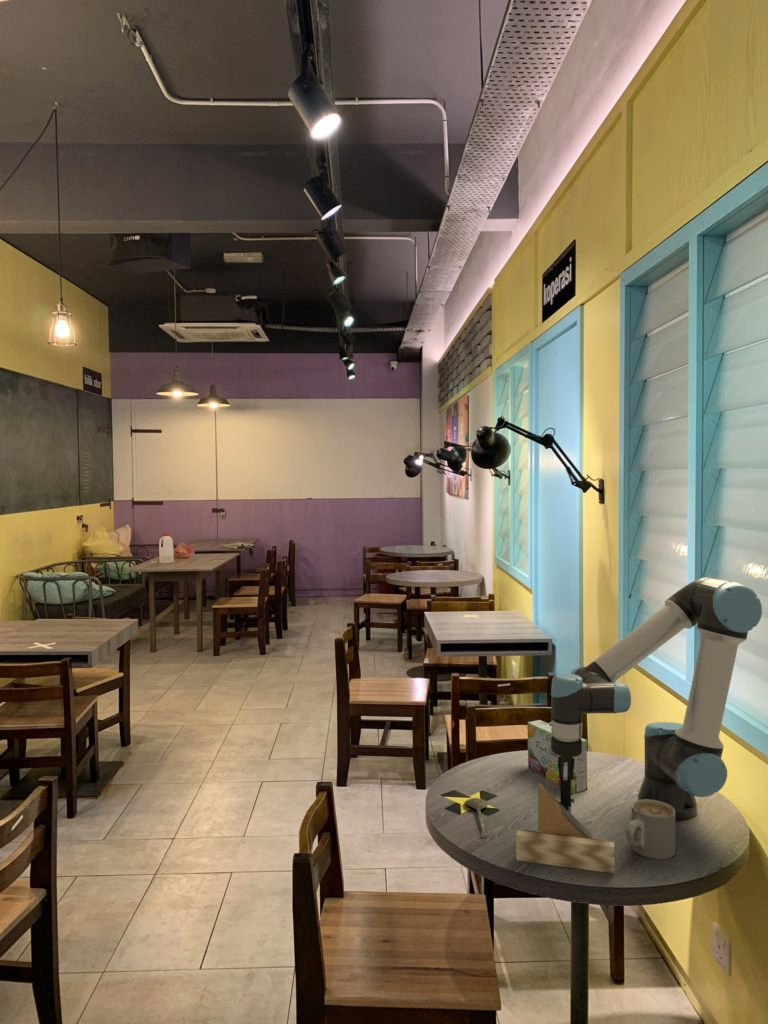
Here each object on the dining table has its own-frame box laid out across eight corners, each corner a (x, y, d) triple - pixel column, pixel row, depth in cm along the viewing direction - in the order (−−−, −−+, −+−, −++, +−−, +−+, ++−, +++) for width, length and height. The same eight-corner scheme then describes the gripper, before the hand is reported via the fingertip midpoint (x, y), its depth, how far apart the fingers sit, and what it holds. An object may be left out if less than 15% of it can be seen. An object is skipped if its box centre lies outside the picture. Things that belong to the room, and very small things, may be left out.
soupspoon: (487, 804, 202) (463, 805, 202) (486, 792, 202) (463, 793, 202) (496, 839, 180) (470, 840, 180) (495, 825, 180) (469, 826, 180)
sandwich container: (610, 858, 170) (610, 795, 170) (546, 858, 170) (546, 796, 169) (599, 840, 179) (599, 780, 178) (537, 841, 178) (538, 781, 178)
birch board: (614, 866, 166) (614, 841, 166) (615, 873, 163) (615, 847, 163) (516, 853, 172) (516, 829, 172) (515, 859, 169) (515, 834, 169)
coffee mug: (656, 836, 181) (657, 797, 180) (684, 855, 171) (684, 814, 171) (611, 844, 177) (611, 804, 176) (636, 864, 167) (636, 821, 167)
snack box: (526, 769, 225) (526, 721, 224) (540, 766, 227) (540, 719, 227) (574, 794, 206) (574, 742, 206) (588, 790, 209) (589, 739, 208)
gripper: (552, 727, 188) (551, 816, 189) (549, 744, 175) (548, 839, 176) (582, 729, 186) (581, 819, 186) (581, 747, 173) (580, 843, 174)
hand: (565, 829), depth 181 cm, fingers closed
